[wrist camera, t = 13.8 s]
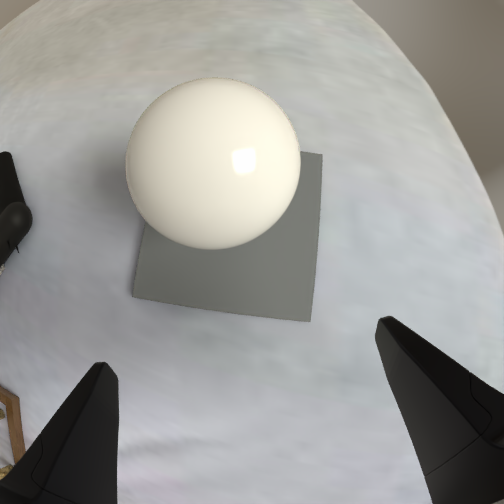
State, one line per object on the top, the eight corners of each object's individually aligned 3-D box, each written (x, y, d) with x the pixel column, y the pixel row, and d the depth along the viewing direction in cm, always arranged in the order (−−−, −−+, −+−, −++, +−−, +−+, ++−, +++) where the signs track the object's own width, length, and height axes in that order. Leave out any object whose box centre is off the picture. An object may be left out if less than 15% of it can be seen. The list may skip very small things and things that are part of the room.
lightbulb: (182, 277, 18) (80, 234, 7) (181, 180, 19) (112, 62, 8) (288, 269, 17) (333, 211, 7) (278, 171, 19) (294, 37, 8)
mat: (308, 321, 17) (310, 322, 17) (135, 297, 18) (132, 297, 17) (320, 158, 20) (322, 154, 19) (168, 145, 20) (166, 141, 19)
